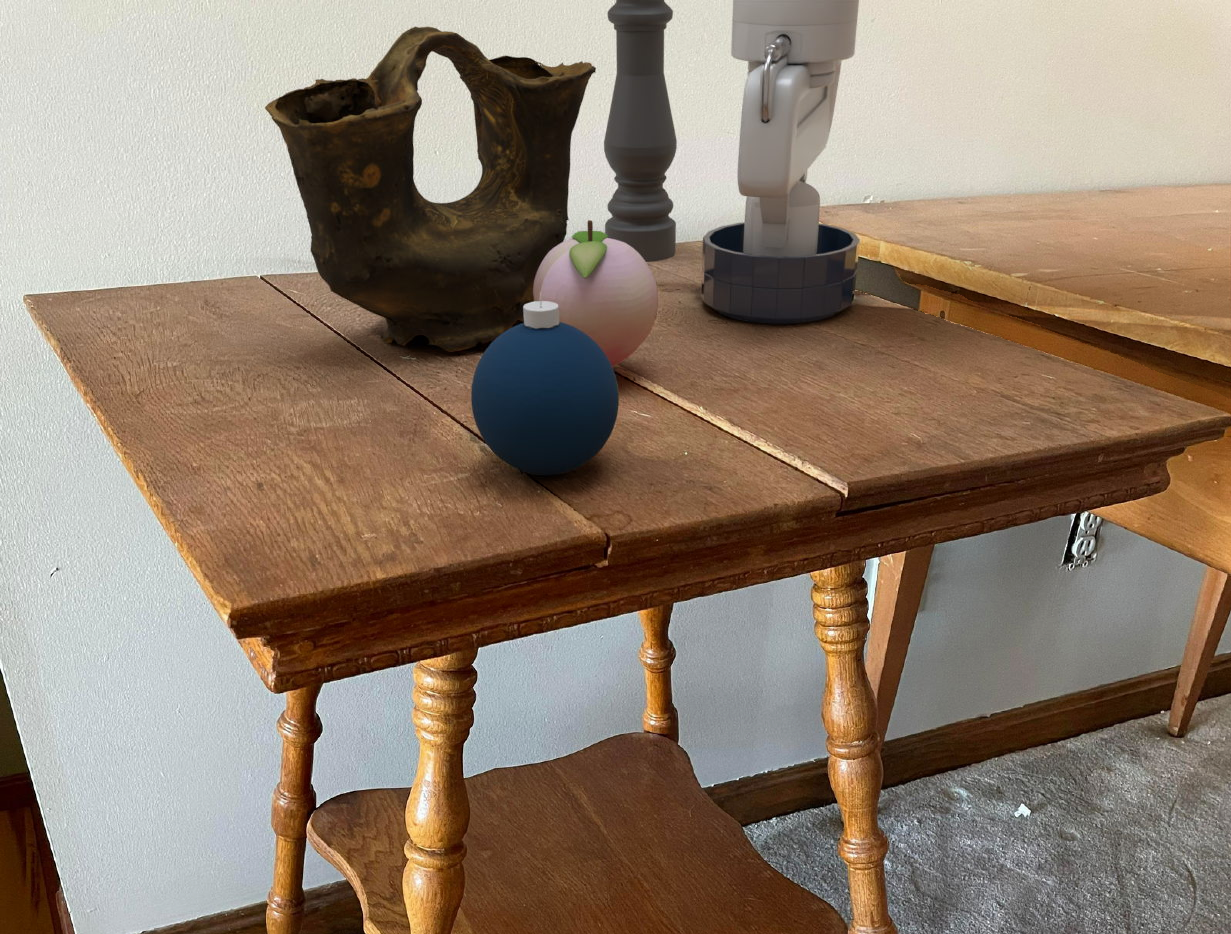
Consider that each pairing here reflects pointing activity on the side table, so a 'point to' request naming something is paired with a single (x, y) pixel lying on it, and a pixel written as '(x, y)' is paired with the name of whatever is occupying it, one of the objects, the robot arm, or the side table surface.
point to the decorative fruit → (600, 291)
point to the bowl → (779, 277)
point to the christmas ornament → (544, 394)
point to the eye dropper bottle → (800, 224)
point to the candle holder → (641, 131)
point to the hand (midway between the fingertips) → (780, 237)
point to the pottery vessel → (426, 231)
